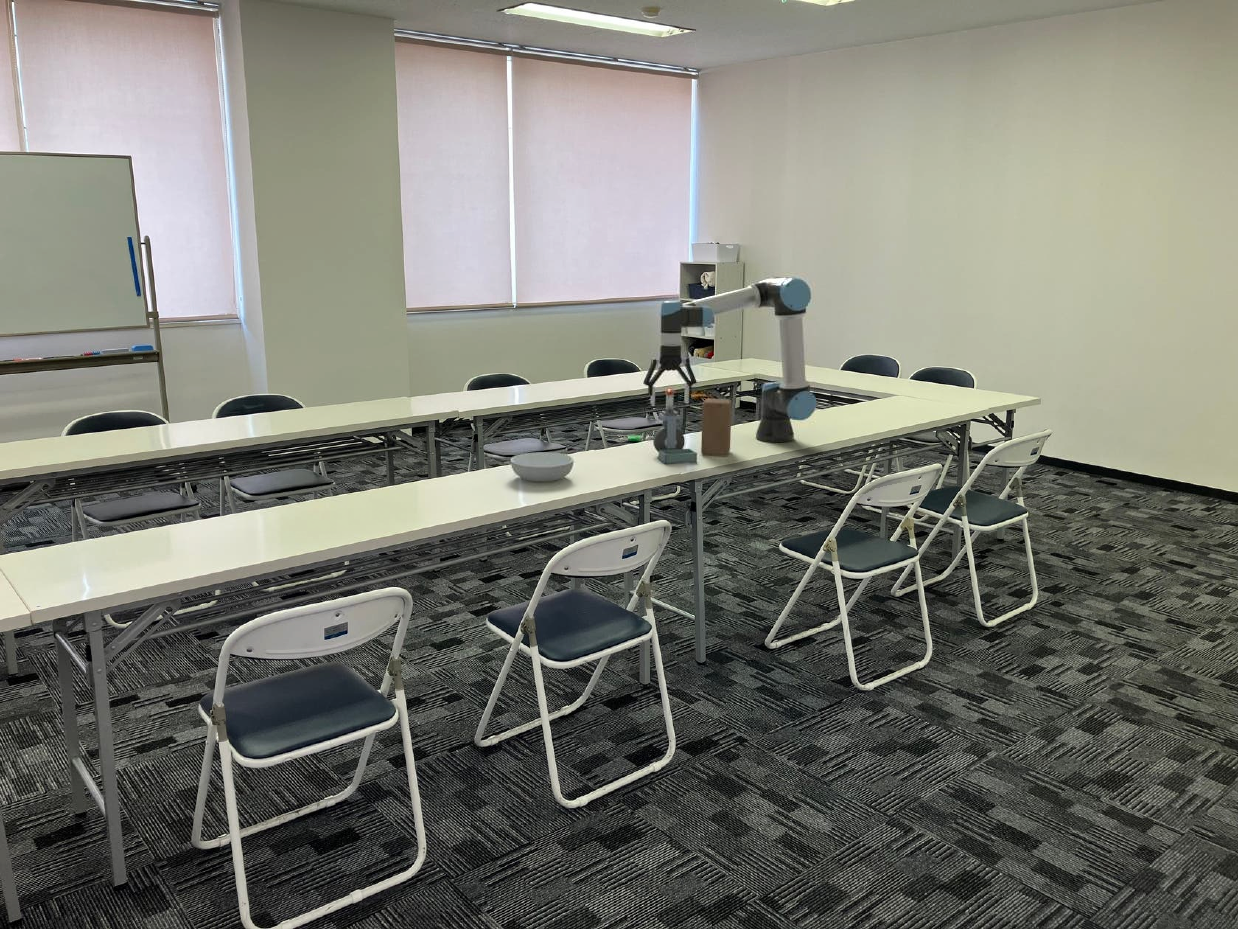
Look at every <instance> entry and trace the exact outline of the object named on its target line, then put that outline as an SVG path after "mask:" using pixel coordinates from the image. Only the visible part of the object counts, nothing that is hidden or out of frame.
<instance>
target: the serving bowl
mask: <svg viewBox="0 0 1238 929" xmlns="http://www.w3.org/2000/svg"><path fill="white" fill-rule="evenodd" d="M574 461H575V460H574V457H572V456H571V455H568V454H564V453H561V452H549V451H548V452H541V451H539V452H527V453H521V454H517V455H514V456H512V457H511V458H510V465H511V468H512V471H513V473H515V475H517V476H518V477H520V479H523V480H527V481H531V482H534V483H549V482H553V481H557V480H561V479H563V478H564V477H566V476H568V475H569V473H570V472H571V471H572V470H573V466H574Z"/></svg>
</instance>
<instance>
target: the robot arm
mask: <svg viewBox="0 0 1238 929" xmlns="http://www.w3.org/2000/svg"><path fill="white" fill-rule="evenodd" d="M811 299H812V292H811V288H810V286H809V285H808V284H807V282H806V281H804V280H803V279H800V278H797V277H789V276H788V277H787V276H786V277H784V276H783V277H782V276H773V277H769V278H766V279H763V280H759V281H756V282H754V283H750V284H748V285H747V287H743V288H740V289H736V290H732V291H728V292H724V293H721V294H716V295H712V296H707V297H704V298H700V299H696V300H692V301H688V302H684V303H683V302H682V301H681V300H680V301H679V300H666V301H663V302H662V303H661V307H660V344H661V345H660V347H659V348H660V349H659V350H660V351H659V352H660V353H659V354H660V355H659V358H651V360H650V361H651V362H650V367H649V368H648V370H647V373H646V374H645V378H644V379H643V383H642V384H643V385H645V386H647V387H648V388H647V390H648V391H647V394H648V396H650V405H652V406H655V405H656V387H655V384H656V383H657V381H658V380H659V378H660V377H661V376H662V375H663V373H664V372H665V371H667V372H669V371H677V372H678V374H679V375H680V377H681V378H682V380H683V381H684V382H685V385H684V394H683V395H684V400H683V401H684V402H683V403H685V404H687V405H688V404H689V401H690V398H689V397H690V395H691V394H692V386H693V385H694V384H695V385H697V383H698V382H697V381H698V380H696V377H695V374H694V372H693V368H692V366H691V364H690V358H688V357H684V358H682V346H681V344H682V333H683V332H682V329H684V328H702V329H703V328H707V327H708V328H709V327H711V325H712V324H713V322H714V317H718V316H720V315H725V314H728V313H733V312H737V311H741V310H744V309H748V308H753V309H755V310H756V309H759V308H774V309H773V310H774V316H775V317H776V318H777V319H778V322H779V323H778V324H779V335H780V338H779V339H780V354H781V370H782V372H781V373H782V381H777V382H765V383H763V385H762V390H761V411H760V412H761V415H760V421H759V424H758V426H757V430H756V433H755V439H756V440H758V441H762V442H767V443H787V442H792V441H794V440H795V432H794V430H793V425H792V422H791V420H794V421H806V420H807V419H809V418H810V417H811V416H812V415H813V414H814V412H815V411H816V408H817V399H816V396H815V395H814V394H813V393H812V392H811V384H810V382H809V381H808V380H807V379H806V365H805V364H806V363H805V345H804V343H805V342H804V327H803V326H804V325H803V324H804V323H803V317H805V315H806V314H807V307H808V306H809V303H810V302H811ZM681 364H683V365H684V366H685V367H684V368H685V369H686V372H687V374H688V376H687V374H686V372H684V371H683V368H682V367H681V366H680V365H681ZM658 365H660V366H659V368H658V370H657V371H656V372H655V369H656V368H657V366H658ZM654 372H655V374H654ZM688 377H689V378H688Z"/></svg>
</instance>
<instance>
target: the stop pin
mask: <svg viewBox="0 0 1238 929" xmlns="http://www.w3.org/2000/svg"><path fill="white" fill-rule="evenodd" d="M664 392H665V393H664V394H666V396H665V411H666V413H673V411H674V394H675V392H676V391H675V389H665V390H664Z"/></svg>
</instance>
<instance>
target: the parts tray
mask: <svg viewBox="0 0 1238 929" xmlns="http://www.w3.org/2000/svg"><path fill="white" fill-rule="evenodd" d="M658 461H660V462H661V463H663V464H664V465H678V464H692V463H696V464H697V462H698V452H696V451H694V450H693V449H691V448H683V449H672V450H659V452H658Z"/></svg>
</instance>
